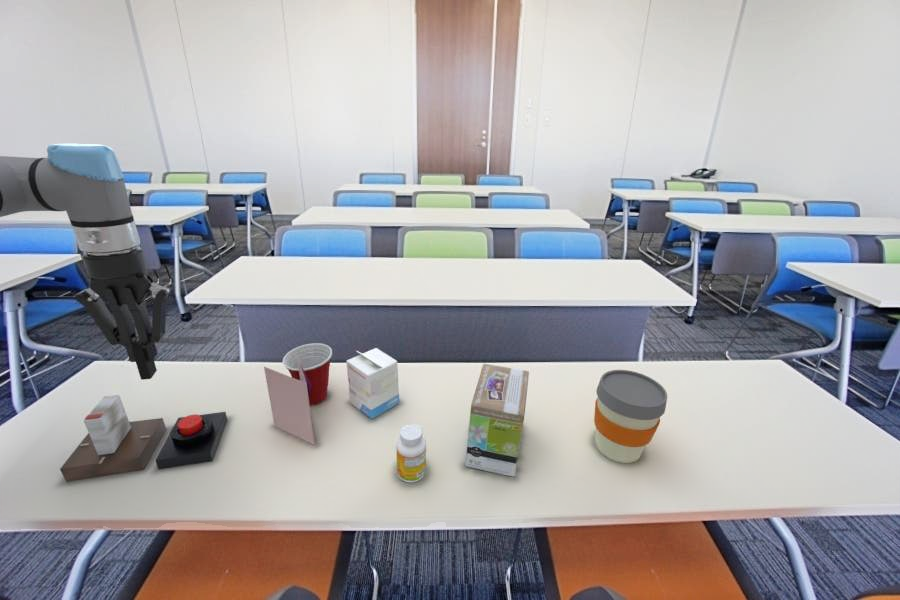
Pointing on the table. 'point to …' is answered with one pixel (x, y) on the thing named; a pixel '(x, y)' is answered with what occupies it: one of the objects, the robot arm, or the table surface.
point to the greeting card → (290, 403)
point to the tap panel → (116, 453)
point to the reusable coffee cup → (627, 414)
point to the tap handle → (107, 424)
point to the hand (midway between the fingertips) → (149, 374)
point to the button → (190, 424)
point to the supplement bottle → (411, 454)
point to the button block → (193, 443)
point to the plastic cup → (311, 368)
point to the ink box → (373, 382)
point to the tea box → (497, 419)
